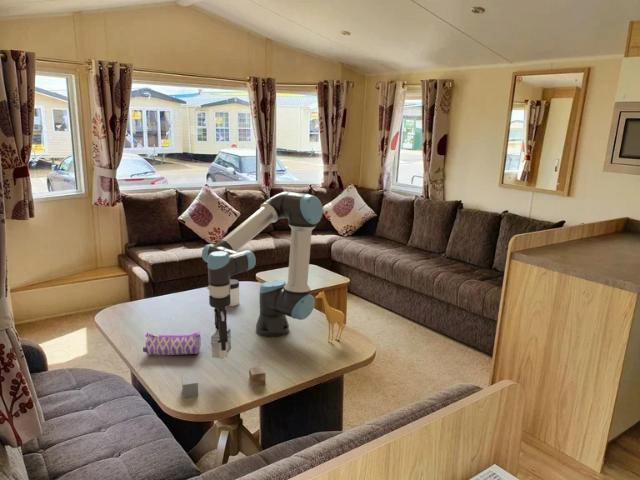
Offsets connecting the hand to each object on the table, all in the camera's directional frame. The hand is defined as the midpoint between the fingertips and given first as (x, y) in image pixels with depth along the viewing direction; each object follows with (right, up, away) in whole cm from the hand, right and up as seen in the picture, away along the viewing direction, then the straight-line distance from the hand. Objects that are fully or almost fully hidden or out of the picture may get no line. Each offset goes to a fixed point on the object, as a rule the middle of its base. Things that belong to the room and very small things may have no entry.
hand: (221, 351), depth 177 cm
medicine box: (0, -1, 0) cm, 1 cm away
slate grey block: (-9, -13, -9) cm, 18 cm away
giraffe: (+41, -4, +32) cm, 52 cm away
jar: (-10, +8, +72) cm, 73 cm away
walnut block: (+13, -11, -1) cm, 18 cm away
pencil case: (-23, -5, +19) cm, 30 cm away
